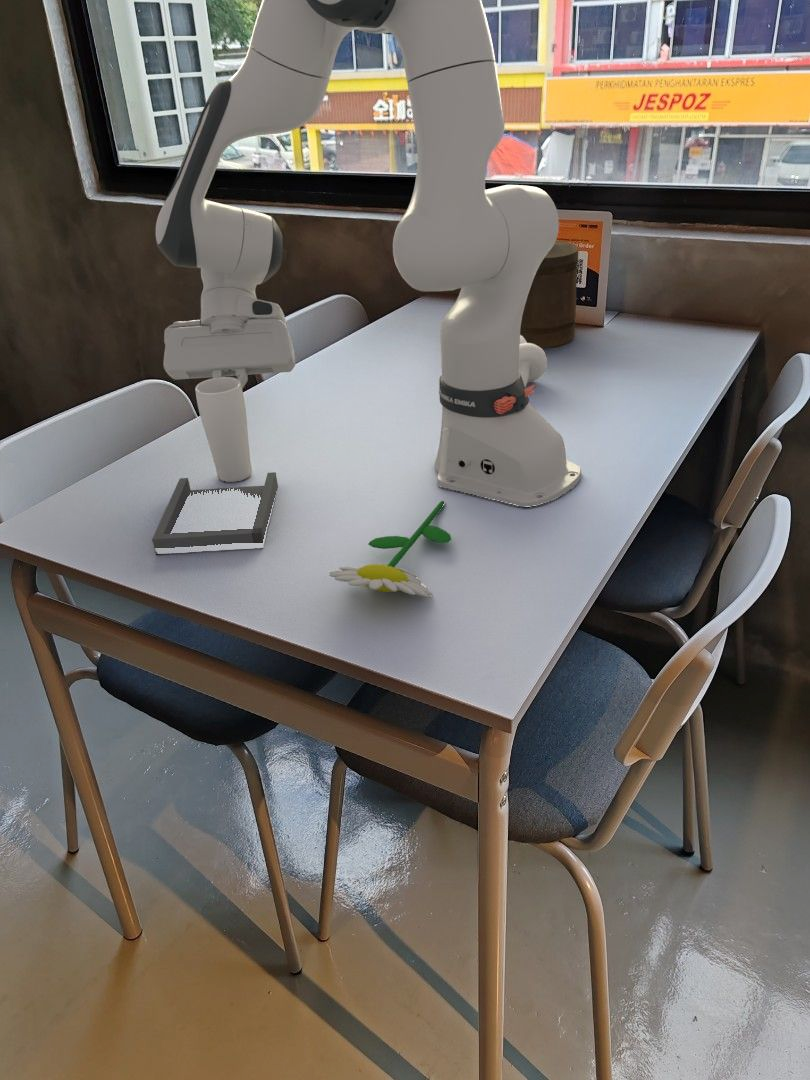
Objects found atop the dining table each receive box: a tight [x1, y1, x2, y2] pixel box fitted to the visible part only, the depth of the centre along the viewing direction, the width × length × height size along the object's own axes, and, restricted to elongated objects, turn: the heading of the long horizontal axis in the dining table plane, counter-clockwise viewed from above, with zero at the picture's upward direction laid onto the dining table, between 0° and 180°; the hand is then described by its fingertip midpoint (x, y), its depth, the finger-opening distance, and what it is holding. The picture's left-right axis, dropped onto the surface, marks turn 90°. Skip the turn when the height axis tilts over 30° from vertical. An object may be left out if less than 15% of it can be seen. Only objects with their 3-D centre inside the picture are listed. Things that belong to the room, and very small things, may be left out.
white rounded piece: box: [519, 335, 548, 388], centre depth 150 cm, size 11×12×9 cm
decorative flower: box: [328, 500, 452, 598], centre depth 104 cm, size 13×5×30 cm
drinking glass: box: [194, 376, 253, 483], centre depth 124 cm, size 7×7×15 cm
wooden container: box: [520, 240, 579, 349], centre depth 169 cm, size 15×15×22 cm
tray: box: [151, 471, 279, 548], centre depth 116 cm, size 17×14×2 cm
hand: (230, 399), depth 128 cm, fingers closed
